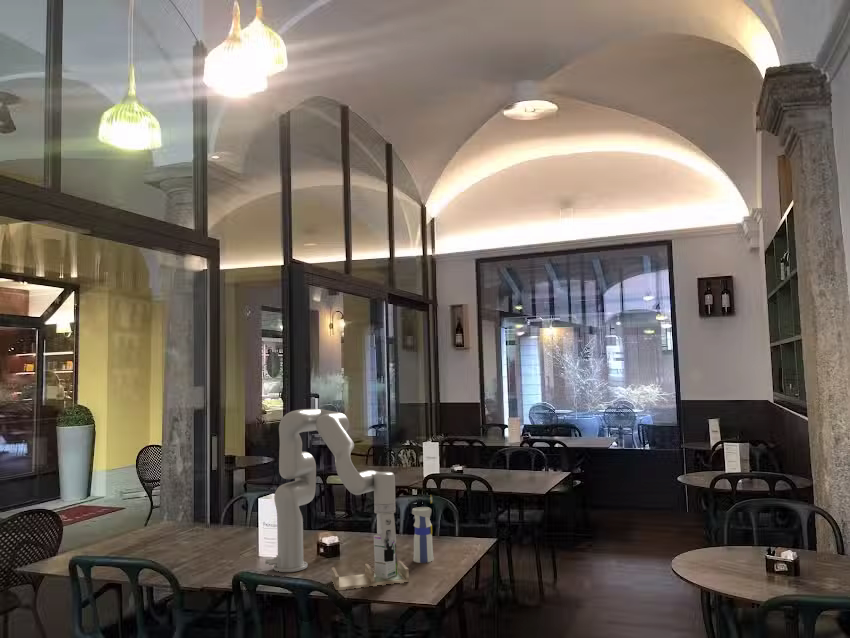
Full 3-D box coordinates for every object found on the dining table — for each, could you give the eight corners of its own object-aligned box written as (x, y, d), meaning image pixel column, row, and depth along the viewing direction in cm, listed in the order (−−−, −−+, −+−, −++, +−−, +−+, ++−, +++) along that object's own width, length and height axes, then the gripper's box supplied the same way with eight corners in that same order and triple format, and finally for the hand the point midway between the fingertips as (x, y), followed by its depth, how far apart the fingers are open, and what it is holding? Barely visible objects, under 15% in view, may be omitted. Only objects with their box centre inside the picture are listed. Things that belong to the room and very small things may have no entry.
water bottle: (434, 556, 264) (432, 491, 266) (435, 562, 256) (433, 495, 258) (413, 557, 264) (411, 492, 266) (413, 563, 255) (411, 496, 257)
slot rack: (336, 590, 225) (336, 576, 225) (331, 580, 236) (331, 567, 237) (408, 582, 231) (408, 568, 232) (400, 573, 243) (400, 560, 243)
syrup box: (387, 579, 232) (386, 536, 233) (374, 576, 235) (373, 534, 237) (397, 575, 236) (396, 532, 237) (385, 572, 240) (384, 531, 241)
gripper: (400, 511, 230) (402, 562, 229) (389, 502, 247) (390, 550, 245) (379, 513, 228) (380, 565, 227) (369, 504, 245) (370, 552, 243)
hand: (385, 557), depth 236 cm, fingers open, 9 cm apart
